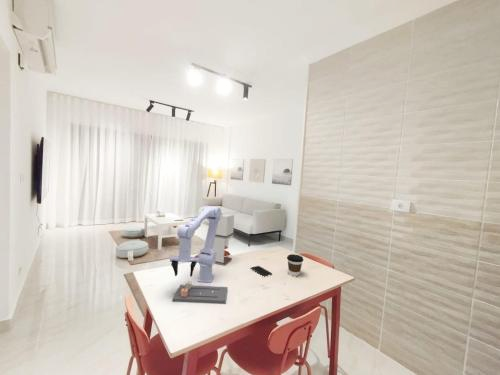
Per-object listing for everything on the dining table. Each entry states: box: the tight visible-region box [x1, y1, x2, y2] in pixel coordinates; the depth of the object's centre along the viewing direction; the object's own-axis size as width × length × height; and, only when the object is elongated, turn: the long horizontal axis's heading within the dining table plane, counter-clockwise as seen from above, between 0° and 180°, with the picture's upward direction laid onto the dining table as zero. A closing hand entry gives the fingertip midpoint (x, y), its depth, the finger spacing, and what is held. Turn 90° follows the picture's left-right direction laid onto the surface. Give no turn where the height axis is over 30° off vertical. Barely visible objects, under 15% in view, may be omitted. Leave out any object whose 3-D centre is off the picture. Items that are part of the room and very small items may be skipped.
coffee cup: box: [286, 253, 304, 277], centre depth 152 cm, size 11×11×12 cm
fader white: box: [184, 280, 193, 289], centre depth 122 cm, size 3×3×3 cm
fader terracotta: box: [181, 288, 188, 297], centre depth 114 cm, size 3×3×3 cm
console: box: [172, 284, 229, 305], centre depth 119 cm, size 14×26×2 cm, turn 92°
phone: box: [250, 265, 273, 278], centre depth 153 cm, size 8×1×15 cm
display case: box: [213, 212, 235, 267], centre depth 166 cm, size 11×11×35 cm
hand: (183, 275), depth 118 cm, fingers open, 7 cm apart
